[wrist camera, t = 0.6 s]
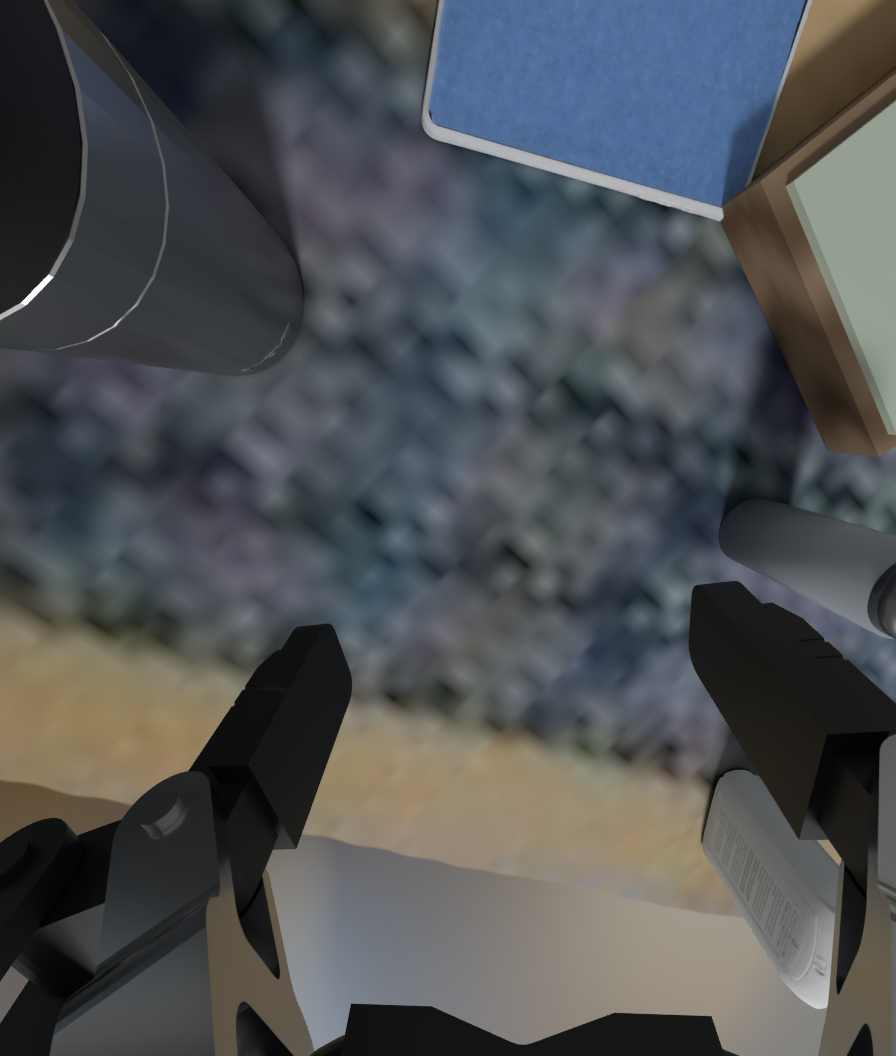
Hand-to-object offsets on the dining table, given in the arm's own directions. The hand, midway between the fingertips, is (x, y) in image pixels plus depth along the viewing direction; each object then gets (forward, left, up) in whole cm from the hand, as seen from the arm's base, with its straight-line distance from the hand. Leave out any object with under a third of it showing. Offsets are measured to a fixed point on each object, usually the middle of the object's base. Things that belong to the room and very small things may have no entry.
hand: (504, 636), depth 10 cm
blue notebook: (-13, +21, -21) cm, 33 cm away
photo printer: (+41, +1, -21) cm, 46 cm away
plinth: (+6, +30, -20) cm, 37 cm away
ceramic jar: (+17, +15, -20) cm, 31 cm away
